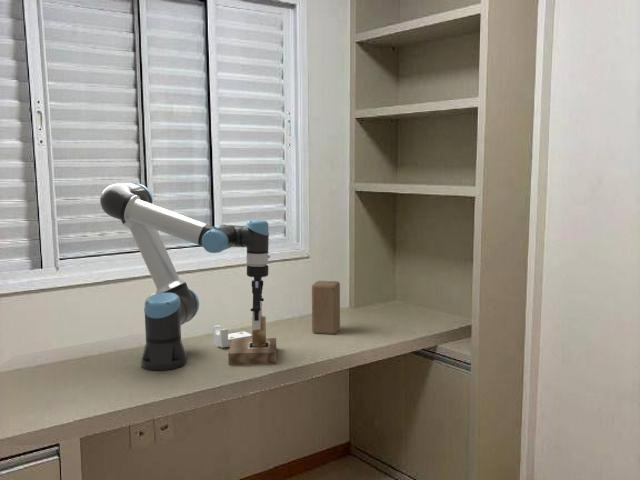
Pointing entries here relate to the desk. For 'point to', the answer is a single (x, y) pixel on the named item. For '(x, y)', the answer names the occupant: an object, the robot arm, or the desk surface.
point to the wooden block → (326, 307)
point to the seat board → (252, 352)
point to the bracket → (227, 336)
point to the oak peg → (259, 335)
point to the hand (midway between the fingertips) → (257, 324)
